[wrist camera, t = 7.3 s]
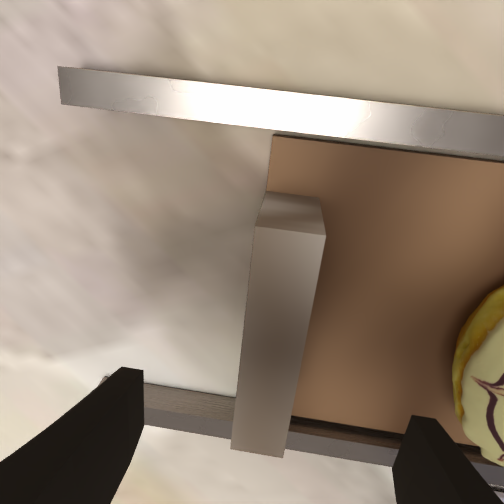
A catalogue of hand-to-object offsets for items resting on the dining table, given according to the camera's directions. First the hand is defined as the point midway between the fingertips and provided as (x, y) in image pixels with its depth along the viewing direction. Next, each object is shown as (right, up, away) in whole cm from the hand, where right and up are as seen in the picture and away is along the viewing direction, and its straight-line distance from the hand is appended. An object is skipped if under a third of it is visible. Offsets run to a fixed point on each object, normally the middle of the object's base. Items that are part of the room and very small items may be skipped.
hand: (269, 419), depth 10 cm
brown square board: (+9, +2, +6) cm, 11 cm away
